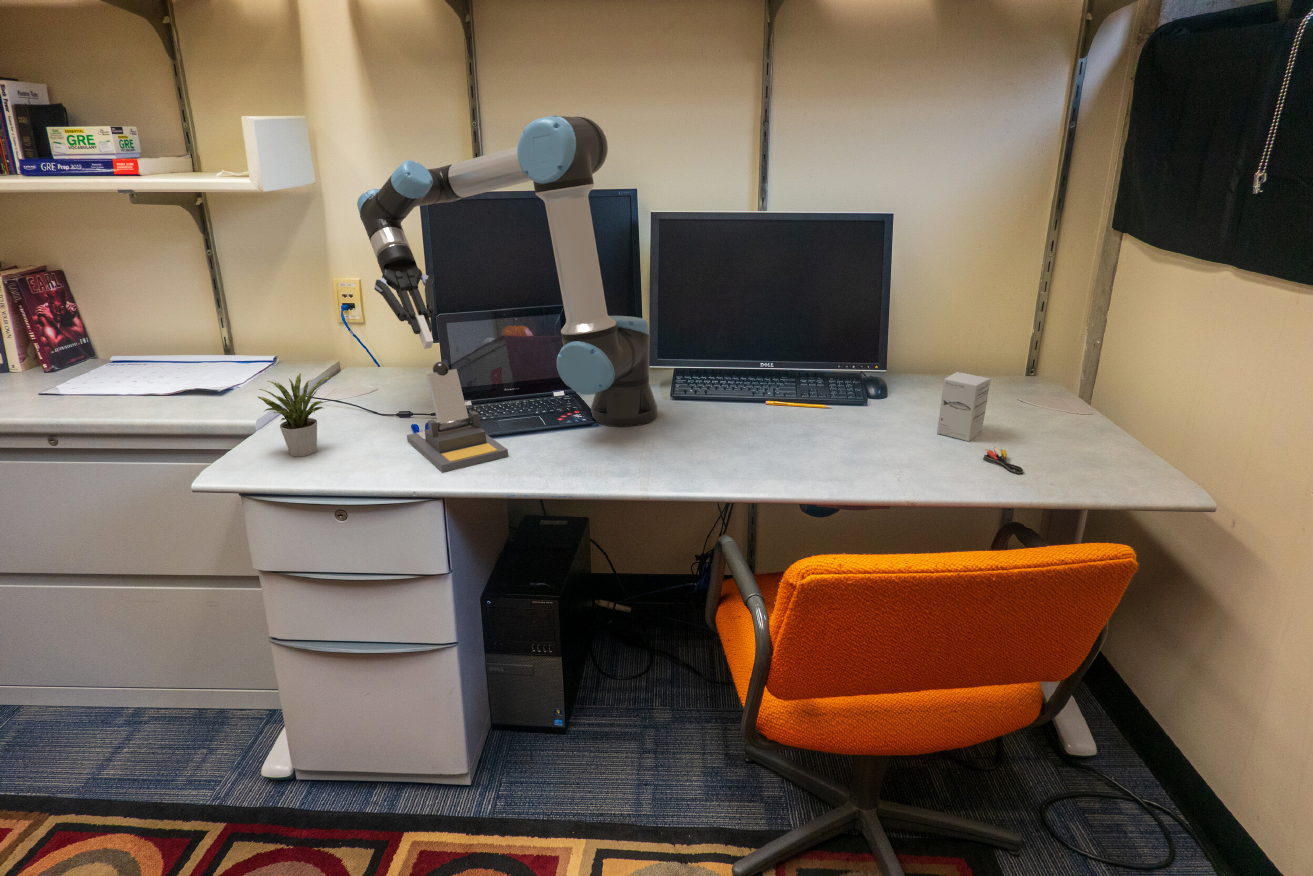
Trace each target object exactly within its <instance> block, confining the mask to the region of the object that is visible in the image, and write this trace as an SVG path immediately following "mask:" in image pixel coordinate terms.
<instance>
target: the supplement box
mask: <svg viewBox="0 0 1313 876" xmlns="http://www.w3.org/2000/svg"><path fill="white" fill-rule="evenodd" d="M991 379H992V378H990V377H985V376H980V375H974V374H971V373H965V372H961V371H957V372H954V373H952V374H951V375H948V376H947V377H945V378H944V380H943V387H942V393H941V399H940V401H941V402H940V407H939V415H938V421H937V422H938V423H937V429H936V434H937V435H942V436H947V437H952V438H955V439H958V440H963V441H965V442H970V441H972V440H973V439H975V438H977V437H978V436H979V435H981V434H983V426H984V421H985V415H986V409H987V403H988V397H989V391H990V385H991V381H992V380H991Z"/></svg>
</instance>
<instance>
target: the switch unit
mask: <svg viewBox="0 0 1313 876" xmlns="http://www.w3.org/2000/svg"><path fill="white" fill-rule="evenodd" d="M469 416H470V417H471V419H472V425H471V426H466V427H461V428H457V429H452V430H447V431H443V432H438V427H437V423H438V421H437V420H435V419H430V420H427V425H428V428H427V429H425V430H423V431H420V432H415V433H410V434H406V438H407V439H406V440H407V443H409V444H410V445H411V446H412V447H413V448H414V449H415V450H416V451H417V452H418V453H419V454H421V456H423V457H424V458H426V460H427V461H429V462H430V463H431V464H432V465H433V466H435V468H437V469H438V470H439V472H441V473H445V472H450V471H453V470H457V469H462V468H466V467H469V466H474V465H478V464H483V463H486V462H487V463H488V462H491V461H495V460H499V459H503V458H507V457H509V450H508V448H506V447H505V446H503V445H502V444H501V443H500V442H498V441H496V440H495V439H494V438H493V437H491V436H489V435H488V434H487V433H486V430H484V429H483V428H481V425H480V424H481V423H480V422H481V421H480V414H479V412H478V411H476V410H474V411H469Z"/></svg>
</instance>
